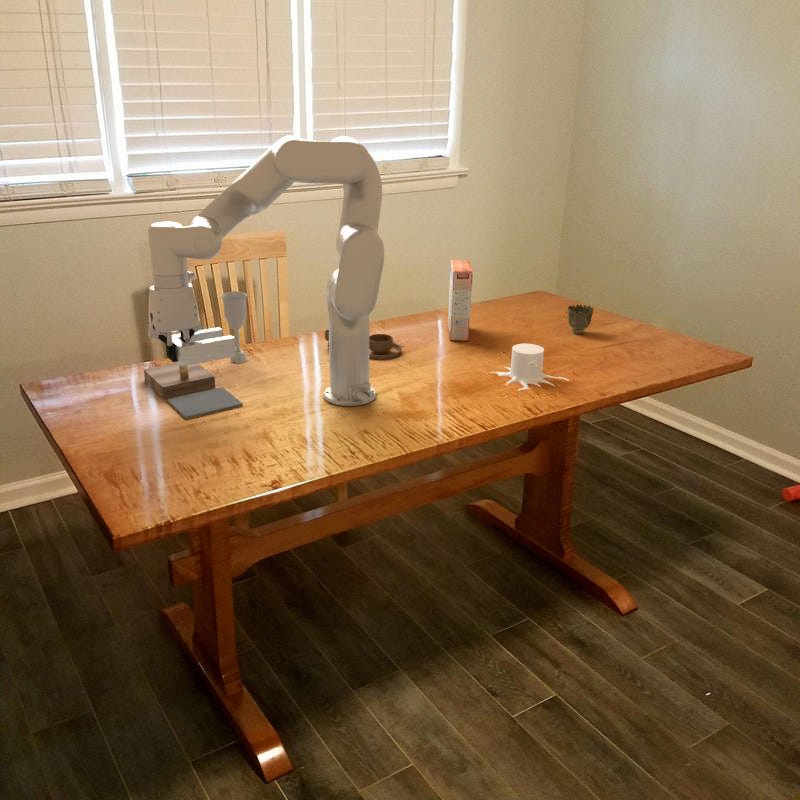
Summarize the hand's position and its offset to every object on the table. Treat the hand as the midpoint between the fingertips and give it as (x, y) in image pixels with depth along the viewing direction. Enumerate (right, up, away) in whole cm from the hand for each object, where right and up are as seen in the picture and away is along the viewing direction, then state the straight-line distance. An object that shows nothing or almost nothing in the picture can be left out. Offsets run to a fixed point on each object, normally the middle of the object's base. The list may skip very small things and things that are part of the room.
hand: (178, 358), depth 181 cm
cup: (+104, +11, +60) cm, 120 cm away
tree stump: (+84, -4, +26) cm, 88 cm away
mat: (+4, -10, +8) cm, 13 cm away
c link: (+4, +1, +3) cm, 5 cm away
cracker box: (+68, +10, +57) cm, 89 cm away
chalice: (+7, +1, +35) cm, 36 cm away
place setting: (+41, +4, +44) cm, 61 cm away
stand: (-5, -5, +19) cm, 20 cm away
